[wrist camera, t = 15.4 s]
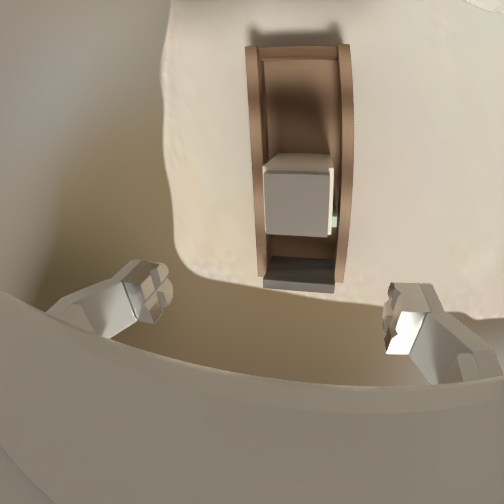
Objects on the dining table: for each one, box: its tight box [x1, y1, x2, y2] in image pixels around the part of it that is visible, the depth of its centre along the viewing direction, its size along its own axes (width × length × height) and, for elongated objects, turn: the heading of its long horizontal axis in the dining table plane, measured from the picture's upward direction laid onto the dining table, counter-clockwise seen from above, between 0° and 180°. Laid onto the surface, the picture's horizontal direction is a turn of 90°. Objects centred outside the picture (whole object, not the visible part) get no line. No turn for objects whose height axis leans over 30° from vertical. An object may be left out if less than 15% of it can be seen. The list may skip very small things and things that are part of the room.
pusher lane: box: [245, 44, 354, 294], centre depth 24 cm, size 23×9×6 cm, turn 3°
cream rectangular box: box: [262, 153, 334, 237], centre depth 22 cm, size 5×5×9 cm
